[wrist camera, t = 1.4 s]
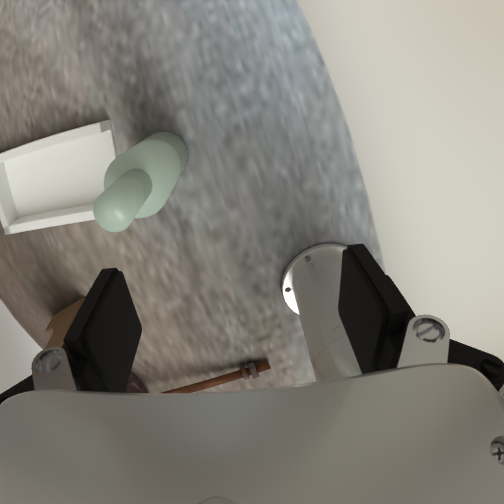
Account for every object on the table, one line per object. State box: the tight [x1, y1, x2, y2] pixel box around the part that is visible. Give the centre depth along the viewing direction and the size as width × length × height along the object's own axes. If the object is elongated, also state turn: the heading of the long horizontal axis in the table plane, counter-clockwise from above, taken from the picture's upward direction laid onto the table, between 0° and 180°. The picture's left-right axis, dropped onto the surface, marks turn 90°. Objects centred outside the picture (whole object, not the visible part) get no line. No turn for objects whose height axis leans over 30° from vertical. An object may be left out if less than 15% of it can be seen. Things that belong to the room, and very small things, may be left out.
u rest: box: [0, 120, 117, 235], centre depth 34 cm, size 20×11×3 cm, turn 94°
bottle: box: [93, 131, 188, 232], centre depth 28 cm, size 6×6×18 cm
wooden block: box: [45, 297, 85, 349], centre depth 39 cm, size 9×4×18 cm, turn 118°
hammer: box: [125, 361, 271, 393], centre depth 52 cm, size 7×33×10 cm, turn 106°
